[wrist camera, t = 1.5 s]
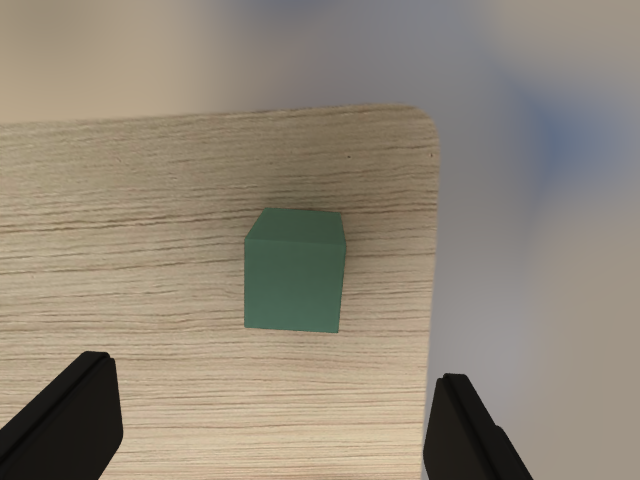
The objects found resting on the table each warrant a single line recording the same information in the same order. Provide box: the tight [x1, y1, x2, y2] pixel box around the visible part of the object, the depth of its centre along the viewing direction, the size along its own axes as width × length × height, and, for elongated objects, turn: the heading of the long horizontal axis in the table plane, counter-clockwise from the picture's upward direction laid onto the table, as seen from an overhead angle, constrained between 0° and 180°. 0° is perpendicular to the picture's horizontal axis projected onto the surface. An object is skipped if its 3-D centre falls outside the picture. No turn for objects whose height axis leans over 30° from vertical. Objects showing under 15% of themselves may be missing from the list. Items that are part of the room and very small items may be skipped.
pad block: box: [244, 208, 346, 333], centre depth 20 cm, size 4×4×6 cm
